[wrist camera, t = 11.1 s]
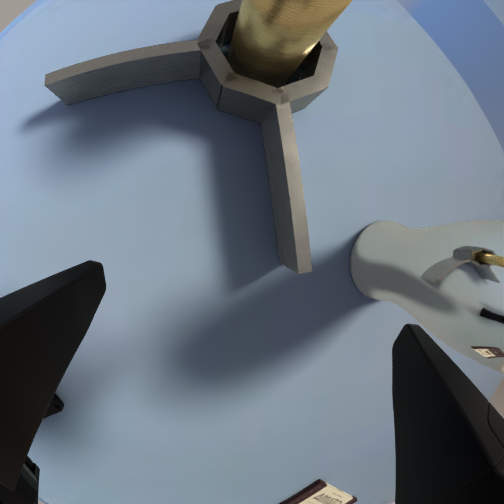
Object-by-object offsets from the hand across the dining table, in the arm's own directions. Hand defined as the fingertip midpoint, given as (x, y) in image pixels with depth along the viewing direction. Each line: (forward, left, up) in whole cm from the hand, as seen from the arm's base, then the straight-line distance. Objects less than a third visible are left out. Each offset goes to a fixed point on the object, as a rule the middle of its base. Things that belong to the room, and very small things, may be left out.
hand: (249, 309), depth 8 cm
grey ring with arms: (+4, +6, -12) cm, 14 cm away
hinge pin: (+8, +10, -12) cm, 17 cm away
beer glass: (+11, -6, -12) cm, 17 cm away
